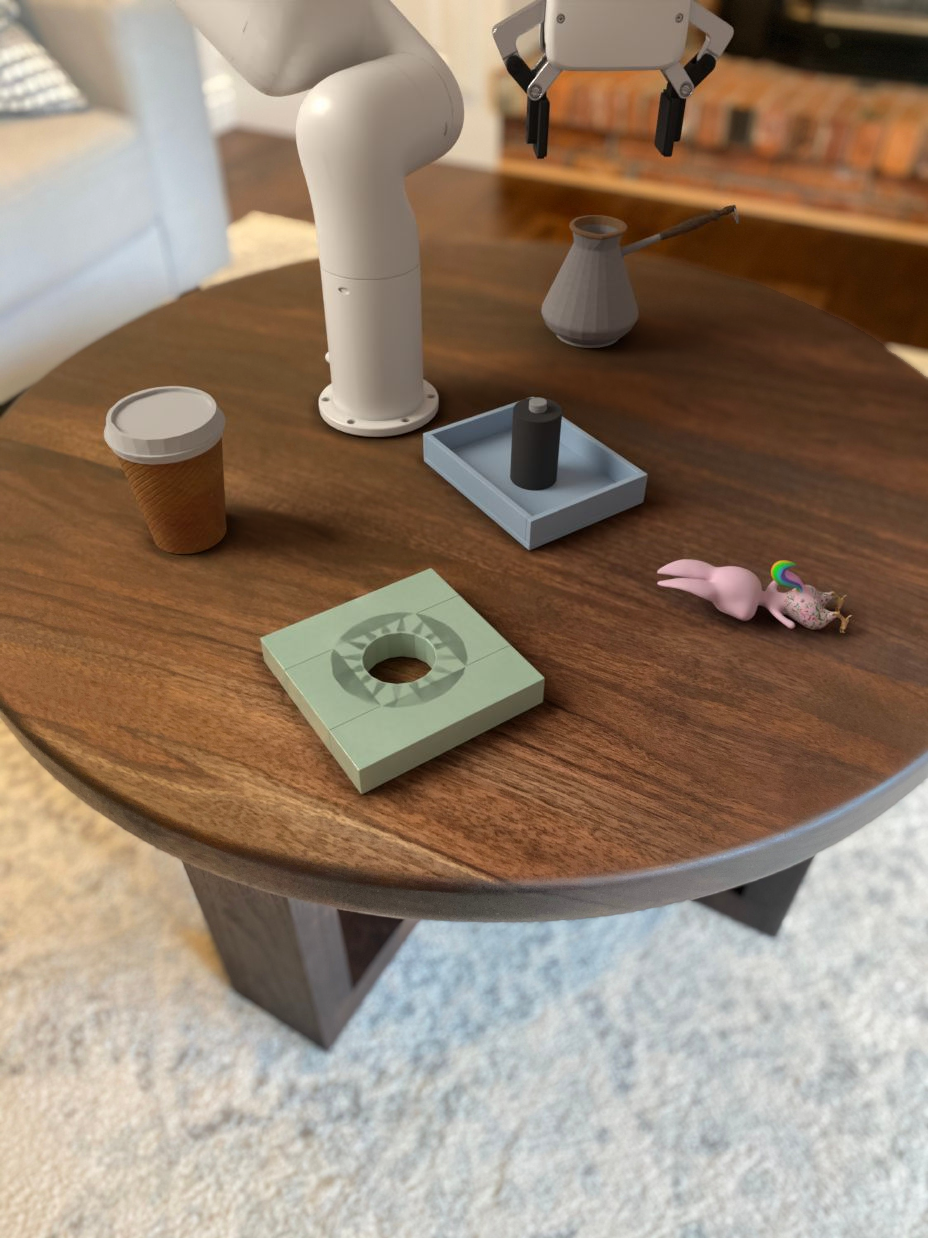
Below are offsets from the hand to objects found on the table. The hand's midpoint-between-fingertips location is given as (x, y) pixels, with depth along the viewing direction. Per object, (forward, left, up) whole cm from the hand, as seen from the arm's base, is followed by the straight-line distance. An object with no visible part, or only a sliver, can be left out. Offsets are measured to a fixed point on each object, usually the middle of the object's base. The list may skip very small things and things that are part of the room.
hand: (601, 152), depth 73 cm
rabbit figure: (+25, -2, -28) cm, 38 cm away
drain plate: (+16, -29, -28) cm, 44 cm away
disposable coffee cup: (-10, -35, -28) cm, 46 cm away
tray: (0, -5, -28) cm, 29 cm away
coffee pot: (-19, +24, -28) cm, 42 cm away
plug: (0, -5, -28) cm, 28 cm away
